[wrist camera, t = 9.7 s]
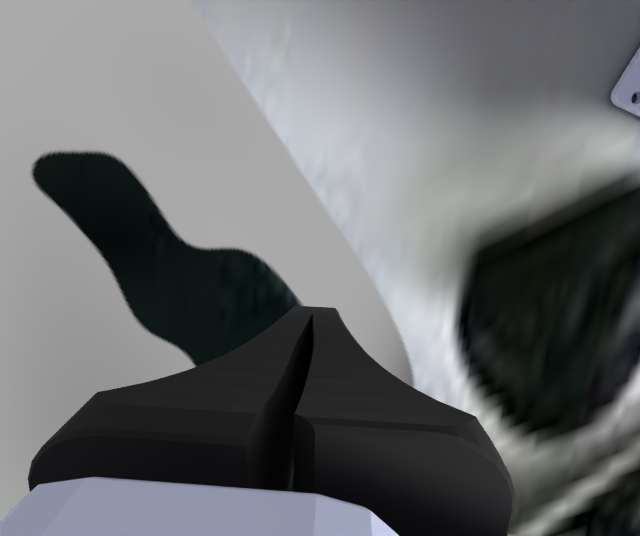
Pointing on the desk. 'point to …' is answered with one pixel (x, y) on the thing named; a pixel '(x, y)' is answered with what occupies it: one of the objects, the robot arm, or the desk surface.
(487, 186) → the desk surface
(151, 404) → the robot arm
